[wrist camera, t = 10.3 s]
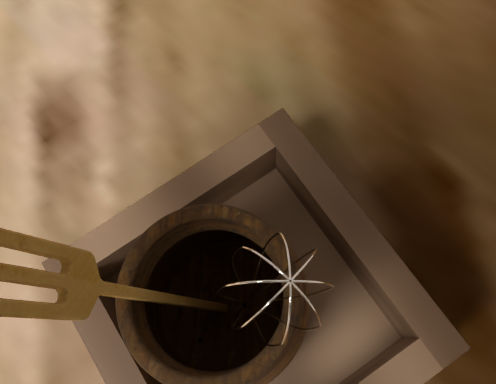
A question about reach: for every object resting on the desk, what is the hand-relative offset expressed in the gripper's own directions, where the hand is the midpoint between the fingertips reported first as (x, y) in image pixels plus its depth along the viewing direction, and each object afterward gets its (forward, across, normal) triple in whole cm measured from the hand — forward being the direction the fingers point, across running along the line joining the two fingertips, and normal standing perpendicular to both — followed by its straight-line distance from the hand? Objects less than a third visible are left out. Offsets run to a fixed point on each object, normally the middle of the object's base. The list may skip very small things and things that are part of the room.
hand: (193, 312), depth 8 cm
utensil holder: (+9, +1, +8) cm, 12 cm away
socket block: (+10, 0, +8) cm, 13 cm away
